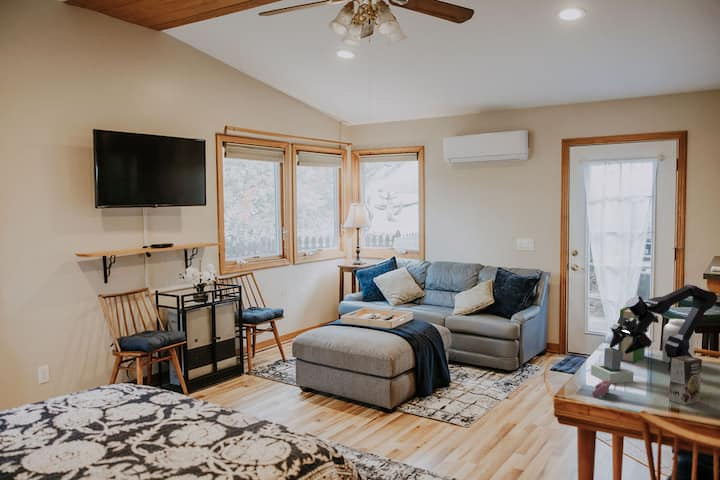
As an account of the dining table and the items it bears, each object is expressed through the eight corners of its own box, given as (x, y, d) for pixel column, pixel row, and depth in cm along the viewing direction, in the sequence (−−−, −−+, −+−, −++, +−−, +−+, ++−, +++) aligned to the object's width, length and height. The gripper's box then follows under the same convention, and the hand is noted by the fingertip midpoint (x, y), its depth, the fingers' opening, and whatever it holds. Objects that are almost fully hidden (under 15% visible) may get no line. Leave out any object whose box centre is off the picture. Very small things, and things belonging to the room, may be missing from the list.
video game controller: (602, 402, 206) (612, 387, 204) (590, 395, 207) (600, 380, 205) (605, 395, 214) (615, 380, 212) (594, 387, 216) (603, 373, 214)
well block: (613, 372, 237) (613, 363, 237) (633, 381, 226) (633, 372, 225) (590, 374, 235) (591, 365, 234) (609, 383, 223) (610, 373, 223)
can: (660, 363, 253) (662, 320, 251) (663, 357, 263) (665, 315, 262) (692, 368, 246) (694, 324, 244) (694, 361, 256) (696, 319, 255)
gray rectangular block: (613, 375, 233) (614, 347, 232) (621, 379, 228) (622, 351, 227) (603, 376, 232) (604, 348, 231) (611, 380, 227) (612, 351, 226)
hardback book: (634, 363, 252) (637, 311, 250) (617, 360, 256) (620, 309, 255) (644, 355, 265) (647, 306, 263) (627, 353, 270) (630, 304, 268)
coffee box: (685, 405, 199) (687, 362, 198) (668, 400, 205) (670, 357, 204) (700, 401, 204) (703, 359, 202) (683, 396, 209) (685, 354, 208)
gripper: (615, 305, 239) (591, 332, 237) (646, 314, 221) (621, 343, 219) (630, 323, 241) (607, 349, 240) (662, 333, 223) (637, 361, 221)
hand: (617, 350), depth 230 cm, fingers open, 9 cm apart
